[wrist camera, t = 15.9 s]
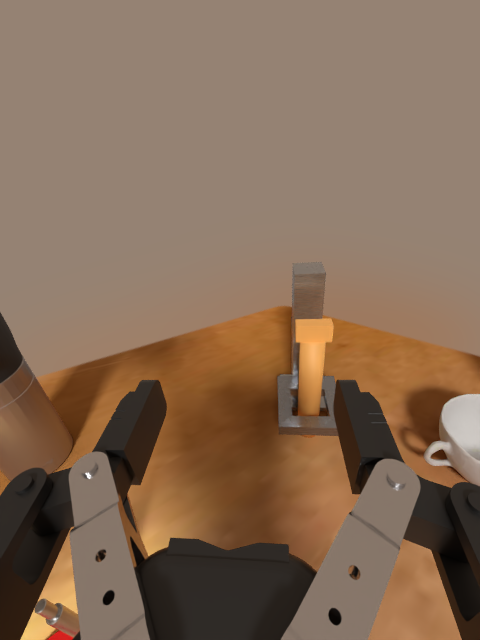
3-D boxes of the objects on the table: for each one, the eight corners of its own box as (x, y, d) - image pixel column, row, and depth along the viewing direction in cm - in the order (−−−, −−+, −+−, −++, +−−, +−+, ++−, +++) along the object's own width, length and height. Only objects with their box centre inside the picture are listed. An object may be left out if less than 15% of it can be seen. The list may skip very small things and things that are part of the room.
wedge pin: (294, 437, 45) (296, 330, 34) (292, 420, 48) (294, 316, 37) (323, 437, 44) (334, 329, 34) (320, 420, 47) (330, 315, 37)
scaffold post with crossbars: (342, 455, 42) (367, 311, 29) (279, 453, 43) (276, 313, 30) (316, 340, 65) (324, 233, 53) (276, 340, 66) (274, 236, 54)
